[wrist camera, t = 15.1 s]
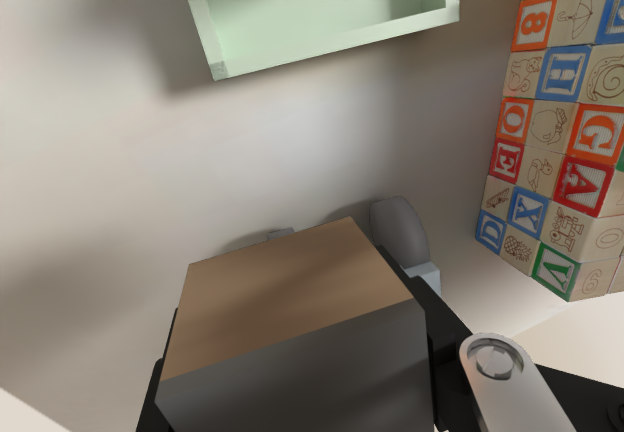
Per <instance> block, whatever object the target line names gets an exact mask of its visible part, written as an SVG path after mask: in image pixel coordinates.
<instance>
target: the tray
mask: <svg viewBox="0 0 624 432" xmlns="http://www.w3.org/2000/svg"><path fill="white" fill-rule="evenodd" d="M188 3H189V6H190V9H191V12H192V15H193V18H194V21H195V24H196V27H197V30H198V33H199V36H200V39H201V43H202V46H203V49H204V52H205V55H206V58H207V61H208V64H209V67H210V70H211V73H212V76H213V79H214V81H217V80H221V79H225V78H229V77H233V76H237V75H241V74H245V73H250V72H254V71H258V70H262V69H266V68H270V67H274V66H278V65H282V64H286V63H290V62H294V61H298V60H302V59H306V58H310V57H315V56H319V55H323V54H327V53H331V52H335V51H339V50H343V49H347V48H351V47H355V46H359V45H363V44H367V43H371V42H376V41H380V40H384V39H388V38H392V37H396V36H400V35H404V34H408V33H412V32H416V31H420V30H424V29H428V28H432V27H436V26H441V25H445V24H449V23H453V22H457V21H460V20H459V0H188Z"/></svg>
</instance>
